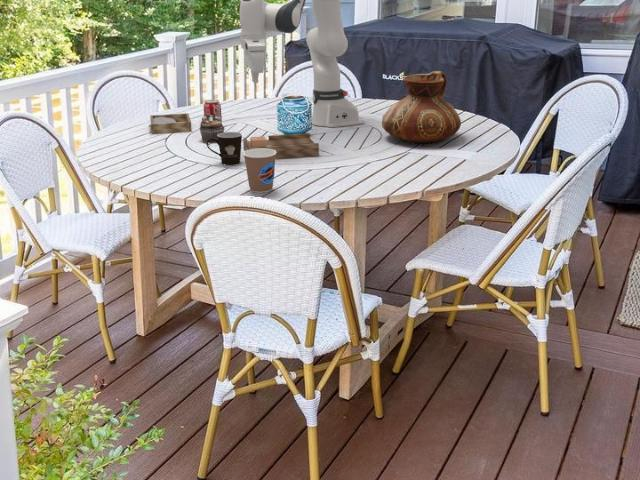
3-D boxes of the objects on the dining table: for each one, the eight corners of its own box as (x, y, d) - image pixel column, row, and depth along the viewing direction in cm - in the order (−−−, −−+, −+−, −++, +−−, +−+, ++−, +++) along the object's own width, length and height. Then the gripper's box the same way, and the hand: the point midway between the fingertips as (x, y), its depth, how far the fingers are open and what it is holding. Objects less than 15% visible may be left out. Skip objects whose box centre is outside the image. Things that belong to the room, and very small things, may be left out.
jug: (450, 151, 289) (453, 82, 280) (371, 145, 299) (372, 78, 290) (466, 133, 315) (469, 69, 306) (392, 128, 325) (393, 66, 316)
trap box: (309, 144, 301) (309, 133, 300) (318, 155, 286) (318, 143, 284) (243, 149, 296) (243, 137, 295) (249, 160, 281) (249, 148, 279)
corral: (189, 122, 341) (188, 113, 339) (191, 131, 324) (191, 122, 323) (151, 124, 338) (150, 115, 336) (151, 134, 321) (150, 124, 320)
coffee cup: (260, 196, 242) (259, 158, 238) (237, 190, 248) (235, 153, 244) (284, 188, 249) (283, 151, 245) (261, 182, 256) (260, 146, 251)
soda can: (223, 128, 330) (222, 99, 326) (220, 132, 323) (218, 102, 319) (207, 127, 331) (205, 99, 326) (203, 131, 324) (201, 102, 320)
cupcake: (195, 142, 308) (193, 116, 305) (209, 136, 316) (208, 111, 313) (215, 144, 304) (214, 118, 300) (229, 139, 312) (228, 113, 308)
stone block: (175, 129, 338) (151, 126, 335) (176, 118, 336) (152, 115, 334) (177, 136, 327) (152, 133, 325) (178, 125, 326) (154, 122, 323)
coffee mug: (247, 160, 281) (245, 132, 278) (237, 166, 274) (235, 138, 270) (217, 158, 285) (215, 130, 281) (206, 164, 277) (204, 136, 274)
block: (264, 147, 287) (264, 136, 285) (266, 150, 282) (266, 139, 281) (250, 148, 286) (250, 137, 284) (252, 151, 281) (252, 140, 280)
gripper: (241, 39, 290) (242, 78, 295) (248, 46, 271) (250, 87, 276) (258, 39, 291) (259, 77, 296) (266, 46, 272) (268, 86, 277)
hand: (255, 82), depth 286 cm, fingers closed
